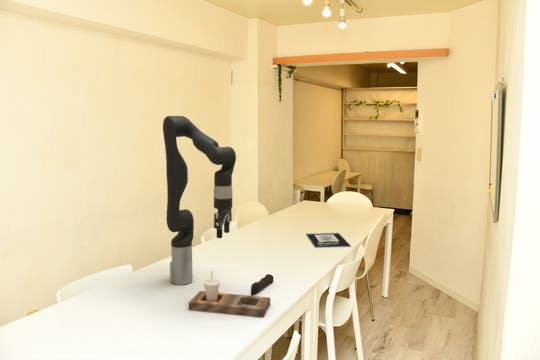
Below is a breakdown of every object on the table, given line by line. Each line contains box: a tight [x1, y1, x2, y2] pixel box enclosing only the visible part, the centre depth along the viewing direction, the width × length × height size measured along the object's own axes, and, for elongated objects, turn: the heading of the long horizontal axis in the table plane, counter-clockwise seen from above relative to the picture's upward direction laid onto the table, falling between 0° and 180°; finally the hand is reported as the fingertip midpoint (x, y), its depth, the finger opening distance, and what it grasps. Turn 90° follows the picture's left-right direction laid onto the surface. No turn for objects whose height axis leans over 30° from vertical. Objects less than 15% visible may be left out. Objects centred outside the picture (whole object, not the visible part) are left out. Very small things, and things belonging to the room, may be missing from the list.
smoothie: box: [203, 270, 221, 302], centre depth 177 cm, size 6×6×14 cm
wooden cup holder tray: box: [188, 290, 271, 318], centre depth 176 cm, size 30×12×3 cm, turn 77°
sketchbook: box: [305, 232, 352, 249], centre depth 275 cm, size 22×30×2 cm
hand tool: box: [250, 273, 274, 296], centre depth 196 cm, size 19×4×5 cm, turn 153°
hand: (223, 235), depth 182 cm, fingers open, 8 cm apart
